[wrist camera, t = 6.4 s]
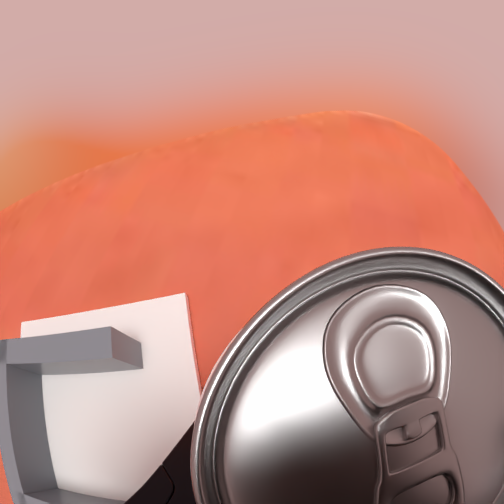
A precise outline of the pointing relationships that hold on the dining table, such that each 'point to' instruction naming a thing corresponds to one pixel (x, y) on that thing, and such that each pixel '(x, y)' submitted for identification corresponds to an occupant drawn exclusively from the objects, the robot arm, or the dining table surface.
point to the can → (361, 389)
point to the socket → (96, 400)
